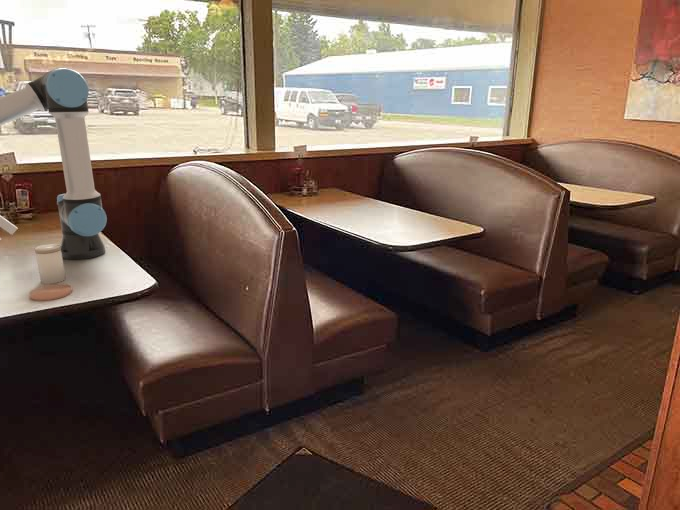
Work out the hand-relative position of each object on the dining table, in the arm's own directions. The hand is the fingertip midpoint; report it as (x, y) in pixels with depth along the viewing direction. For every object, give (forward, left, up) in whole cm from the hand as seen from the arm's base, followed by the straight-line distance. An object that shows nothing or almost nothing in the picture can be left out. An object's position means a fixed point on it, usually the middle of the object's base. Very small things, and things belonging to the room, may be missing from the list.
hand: (6, 236), depth 158 cm
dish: (+13, +14, -15) cm, 24 cm away
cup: (0, +11, -15) cm, 18 cm away
